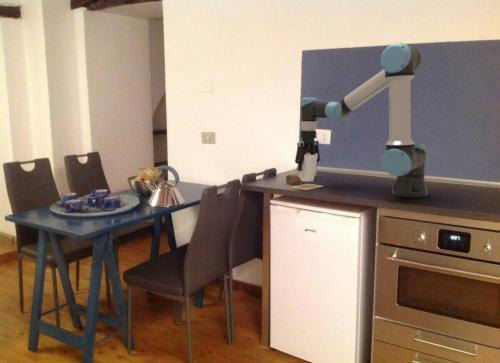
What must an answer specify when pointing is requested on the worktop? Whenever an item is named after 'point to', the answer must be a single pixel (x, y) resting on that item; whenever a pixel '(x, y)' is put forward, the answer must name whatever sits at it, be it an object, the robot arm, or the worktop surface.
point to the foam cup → (309, 167)
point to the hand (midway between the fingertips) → (307, 176)
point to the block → (292, 180)
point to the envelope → (307, 186)
